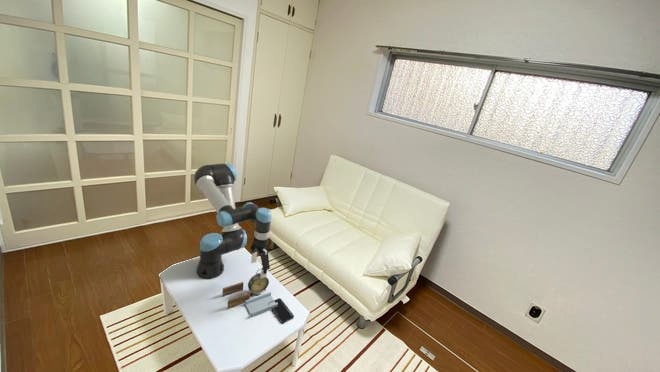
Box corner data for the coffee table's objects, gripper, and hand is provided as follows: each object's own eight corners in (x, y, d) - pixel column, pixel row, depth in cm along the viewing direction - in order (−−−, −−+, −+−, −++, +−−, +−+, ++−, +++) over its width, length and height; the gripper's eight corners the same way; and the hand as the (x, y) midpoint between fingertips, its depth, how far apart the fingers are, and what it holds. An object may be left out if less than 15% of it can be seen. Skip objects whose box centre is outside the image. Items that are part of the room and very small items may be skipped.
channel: (222, 295, 145) (222, 288, 143) (242, 288, 152) (242, 281, 150) (228, 308, 138) (228, 301, 136) (249, 301, 144) (249, 294, 142)
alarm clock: (249, 298, 146) (251, 275, 140) (246, 291, 150) (248, 268, 144) (268, 292, 153) (270, 269, 147) (264, 285, 157) (266, 263, 151)
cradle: (245, 304, 142) (245, 300, 141) (270, 295, 151) (270, 291, 150) (251, 317, 135) (252, 313, 135) (277, 307, 144) (277, 303, 143)
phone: (279, 297, 150) (294, 316, 140) (279, 299, 150) (294, 318, 140) (267, 303, 144) (282, 323, 135) (267, 304, 145) (281, 324, 135)
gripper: (245, 226, 145) (243, 258, 152) (264, 251, 127) (261, 286, 134) (259, 223, 149) (256, 255, 157) (278, 248, 132) (274, 282, 139)
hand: (258, 269), depth 146 cm, fingers open, 13 cm apart
